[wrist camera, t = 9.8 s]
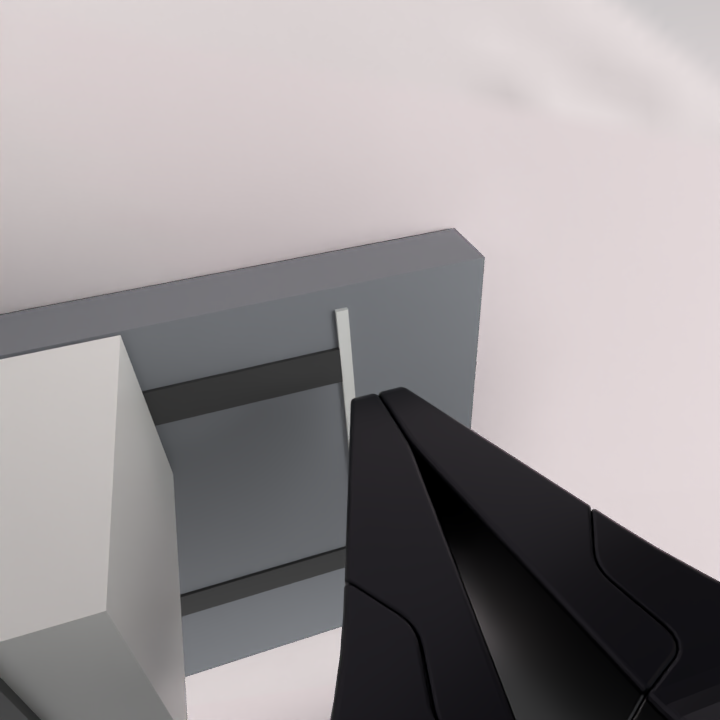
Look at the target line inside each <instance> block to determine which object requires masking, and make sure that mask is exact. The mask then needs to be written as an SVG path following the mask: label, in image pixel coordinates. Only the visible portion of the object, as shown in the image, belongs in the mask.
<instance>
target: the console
mask: <svg viewBox="0 0 720 720" xmlns="http://www.w3.org/2000/svg"><path fill="white" fill-rule="evenodd" d="M484 260H485V257H484V256H483V255H482V254H481V253H480V252H479V251H478V250H477V249H476V248H475V247H474V246H472V245H471V244H470V243H469V242H468V241H467V240H466V239H465V238H464V237H463V236H462V235H461V234H460V233H459V232H458V231H457V230H456V229H455V228H453V229H448V230H443V231H438V232H432V233H427V234H422V235H417V236H411V237H406V238H401V239H396V240H390V241H385V242H380V243H375V244H369V245H364V246H359V247H354V248H348V249H343V250H338V251H333V252H327V253H322V254H317V255H312V256H306V257H301V258H296V259H291V260H285V261H280V262H275V263H270V264H264V265H259V266H254V267H249V268H243V269H238V270H233V271H228V272H222V273H217V274H212V275H207V276H201V277H196V278H191V279H186V280H180V281H175V282H170V283H165V284H159V285H154V286H149V287H144V288H138V289H133V290H128V291H123V292H117V293H112V294H107V295H102V296H96V297H91V298H86V299H81V300H75V301H70V302H65V303H60V304H54V305H49V306H44V307H39V308H33V309H28V310H23V311H18V312H12V313H7V314H2V315H0V359H5V358H10V357H15V356H20V355H25V354H30V353H35V352H39V351H44V350H49V349H54V348H59V347H64V346H69V345H74V344H79V343H83V342H88V341H93V340H98V339H103V338H108V337H113V336H118V335H121V338H122V340H123V343H124V346H125V348H126V351H127V354H128V356H129V359H130V362H131V364H132V367H133V369H134V372H135V375H136V377H137V380H138V383H139V385H140V388H141V391H142V393H143V396H144V398H145V401H146V404H147V406H148V409H149V412H150V414H151V417H152V420H153V422H154V425H155V427H156V430H157V433H158V435H159V438H160V441H161V443H162V446H163V449H164V451H165V454H166V457H167V459H168V462H169V464H170V467H171V470H172V472H173V479H174V497H175V514H176V532H177V549H178V566H179V584H180V601H181V618H182V636H183V653H184V671H185V677H187V676H190V675H193V674H196V673H199V672H202V671H205V670H208V669H211V668H215V667H218V666H221V665H224V664H227V663H230V662H233V661H236V660H239V659H243V658H246V657H249V656H252V655H255V654H258V653H261V652H264V651H267V650H270V649H274V648H277V647H280V646H283V645H286V644H289V643H292V642H295V641H298V640H302V639H305V638H308V637H311V636H314V635H317V634H320V633H323V632H326V631H329V630H333V629H336V628H339V627H342V622H343V601H344V587H345V553H346V524H347V495H348V466H349V436H350V407H351V400H352V399H353V398H356V397H360V396H364V395H368V394H372V393H374V394H377V395H378V394H379V393H380V392H381V391H385V390H389V389H393V388H397V387H405V388H407V389H409V390H410V391H412V392H413V393H415V394H416V395H418V396H420V397H421V398H423V399H424V400H426V401H427V402H429V403H430V404H432V405H434V406H435V407H437V408H438V409H440V410H441V411H443V412H445V413H446V414H448V415H449V416H451V417H452V418H454V419H455V420H457V421H459V422H460V423H462V424H463V425H465V426H466V427H468V428H469V429H471V417H472V405H473V393H474V381H475V369H476V357H477V344H478V332H479V320H480V308H481V296H482V284H483V272H484Z"/></svg>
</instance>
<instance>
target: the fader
mask: <svg viewBox="0 0 720 720" xmlns="http://www.w3.org/2000/svg"><path fill="white" fill-rule="evenodd" d="M0 720H187V705H186V688H185V671H184V653H183V636H182V618H181V601H180V584H179V566H178V549H177V532H176V514H175V497H174V479H173V472H172V470H171V467H170V464H169V462H168V459H167V457H166V454H165V451H164V449H163V446H162V443H161V441H160V438H159V435H158V433H157V430H156V427H155V425H154V422H153V420H152V417H151V414H150V412H149V409H148V406H147V404H146V401H145V398H144V396H143V393H142V391H141V388H140V385H139V383H138V380H137V377H136V375H135V372H134V369H133V367H132V364H131V362H130V359H129V356H128V354H127V351H126V348H125V346H124V343H123V340H122V338H121V335H118V336H113V337H108V338H103V339H98V340H93V341H88V342H83V343H79V344H74V345H69V346H64V347H59V348H54V349H49V350H44V351H39V352H35V353H30V354H25V355H20V356H15V357H10V358H5V359H0Z"/></svg>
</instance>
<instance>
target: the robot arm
mask: <svg viewBox="0 0 720 720" xmlns="http://www.w3.org/2000/svg"><path fill="white" fill-rule="evenodd" d="M330 720H720V582H719V581H717V580H716V579H714V578H712V577H710V576H708V575H706V574H704V573H702V572H701V571H699V570H697V569H695V568H693V567H692V566H690V565H688V564H686V563H684V562H683V561H681V560H679V559H677V558H675V557H674V556H672V555H670V554H668V553H666V552H664V551H663V550H661V549H659V548H657V547H656V546H654V545H652V544H651V543H649V542H647V541H646V540H644V539H643V538H641V537H639V536H638V535H636V534H634V533H633V532H631V531H629V530H628V529H626V528H625V527H623V526H621V525H620V524H618V523H616V522H615V521H613V520H612V519H610V518H609V517H607V516H606V515H604V514H602V513H601V512H599V511H598V510H596V509H593V510H592V511H591V507H590V506H589V505H588V504H586V503H585V502H583V501H582V500H580V499H579V498H577V497H576V496H574V495H572V494H571V493H569V492H568V491H566V490H565V489H563V488H562V487H560V486H558V485H557V484H555V483H554V482H552V481H551V480H549V479H547V478H546V477H544V476H543V475H541V474H540V473H538V472H537V471H535V470H533V469H532V468H530V467H529V466H527V465H526V464H524V463H523V462H521V461H519V460H518V459H516V458H515V457H513V456H512V455H510V454H508V453H507V452H505V451H504V450H502V449H501V448H499V447H498V446H496V445H494V444H493V443H491V442H490V441H488V440H487V439H485V438H484V437H482V436H480V435H479V434H477V433H476V432H474V431H473V430H471V429H469V428H468V427H466V426H465V425H463V424H462V423H460V422H459V421H457V420H455V419H454V418H452V417H451V416H449V415H448V414H446V413H445V412H443V411H441V410H440V409H438V408H437V407H435V406H434V405H432V404H430V403H429V402H427V401H426V400H424V399H423V398H421V397H420V396H418V395H416V394H415V393H413V392H412V391H410V390H409V389H407V388H405V387H397V388H393V389H389V390H385V391H381V392H380V393H379V394H378V395H377V394H374V393H372V394H368V395H364V396H360V397H356V398H353V399H352V400H351V407H350V436H349V466H348V495H347V524H346V553H345V587H344V601H343V622H342V636H341V650H340V660H339V667H338V674H337V681H336V688H335V695H334V702H333V707H332V713H331V719H330Z"/></svg>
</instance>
